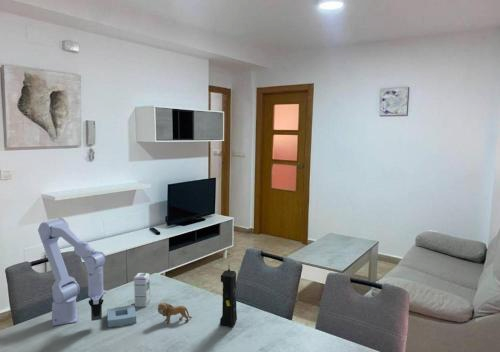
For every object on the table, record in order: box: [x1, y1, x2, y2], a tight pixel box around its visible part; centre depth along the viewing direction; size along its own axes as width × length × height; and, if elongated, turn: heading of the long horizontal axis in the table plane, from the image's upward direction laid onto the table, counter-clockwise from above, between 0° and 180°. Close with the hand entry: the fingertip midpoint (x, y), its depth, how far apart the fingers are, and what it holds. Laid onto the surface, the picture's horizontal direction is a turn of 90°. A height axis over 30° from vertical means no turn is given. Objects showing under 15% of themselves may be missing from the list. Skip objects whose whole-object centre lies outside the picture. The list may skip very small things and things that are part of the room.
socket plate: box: [106, 304, 137, 328], centre depth 168 cm, size 12×12×3 cm
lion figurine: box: [157, 302, 192, 324], centre depth 167 cm, size 15×5×9 cm, turn 110°
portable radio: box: [219, 264, 238, 328], centre depth 165 cm, size 8×6×25 cm
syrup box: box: [133, 272, 151, 308], centre depth 182 cm, size 6×6×14 cm
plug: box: [90, 304, 103, 321], centre depth 160 cm, size 4×4×6 cm
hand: (96, 313), depth 160 cm, fingers closed on plug, 4 cm apart
